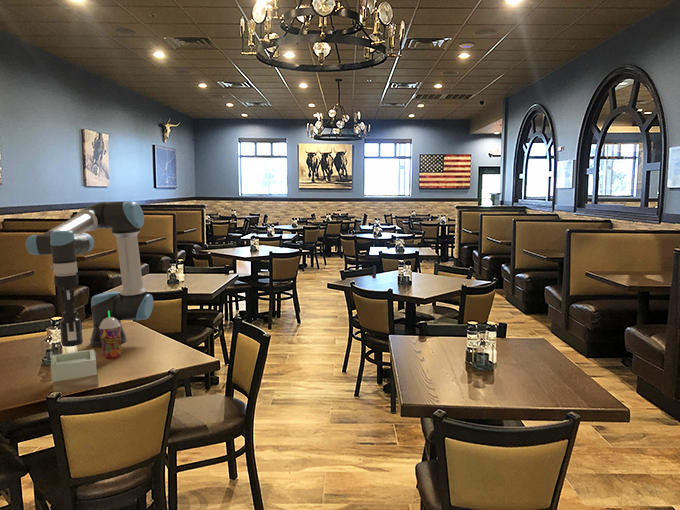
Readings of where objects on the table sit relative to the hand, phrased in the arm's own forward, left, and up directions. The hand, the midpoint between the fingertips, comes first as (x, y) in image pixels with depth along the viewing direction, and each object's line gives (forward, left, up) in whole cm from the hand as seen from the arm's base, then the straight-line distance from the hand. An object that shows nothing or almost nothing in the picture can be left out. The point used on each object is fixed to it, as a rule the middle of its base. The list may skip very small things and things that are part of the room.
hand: (71, 337), depth 186 cm
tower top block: (0, 0, -13) cm, 13 cm away
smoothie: (-26, +15, -18) cm, 35 cm away
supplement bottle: (0, 0, -3) cm, 3 cm away
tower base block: (0, 0, -18) cm, 18 cm away
